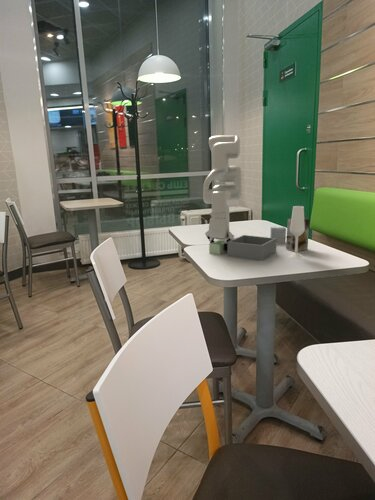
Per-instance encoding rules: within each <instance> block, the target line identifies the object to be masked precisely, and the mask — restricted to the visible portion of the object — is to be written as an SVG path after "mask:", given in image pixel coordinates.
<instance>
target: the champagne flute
mask: <svg viewBox="0 0 375 500" xmlns="http://www.w3.org/2000/svg"><path fill="white" fill-rule="evenodd" d="M291 211H292V212H291V217H290V218H291V225H290V232H291V233H292V234H293V235H294V236H295V237H296V239H295V251H294V252H293V253H291V254H290V255H288V258H291V259H302V258H304V256H303V255H302V254H300V253H299V252H298V251H297V250H298V237H299V236H300V235H302V234H303V232H304V231H305V225H304V218H305V207H304V206H303V205H294V206H292V210H291Z"/></svg>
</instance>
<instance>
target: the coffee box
mask: <svg viewBox="0 0 375 500" xmlns="http://www.w3.org/2000/svg"><path fill="white" fill-rule="evenodd" d="M291 218H292V217H290V218H287V223H286V225H287V226H286V227H287V229H286V239H285V244H286V246H285V248H286V249H285V250H288V251H291V252H295V239H296V237H295V236H294V235H293V234H292V233H291V232H290V225H291ZM304 225H305V231H304V232H303V234H302V235H300V236H299V237H298V250H297V252H298V251H306V250H308V248H309V246H308V245H309V231H310V218H307V217H304Z"/></svg>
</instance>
